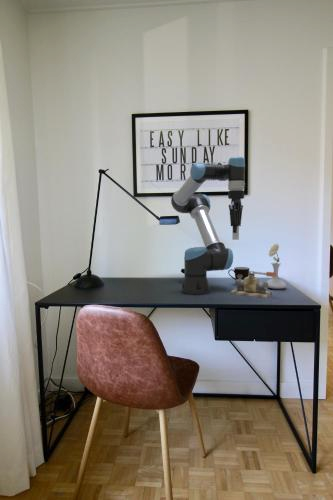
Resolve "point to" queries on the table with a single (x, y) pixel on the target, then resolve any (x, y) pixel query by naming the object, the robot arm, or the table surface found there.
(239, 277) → the coffee mug
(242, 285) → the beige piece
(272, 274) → the lever
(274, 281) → the flower in vase
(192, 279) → the robot arm
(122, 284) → the table surface
